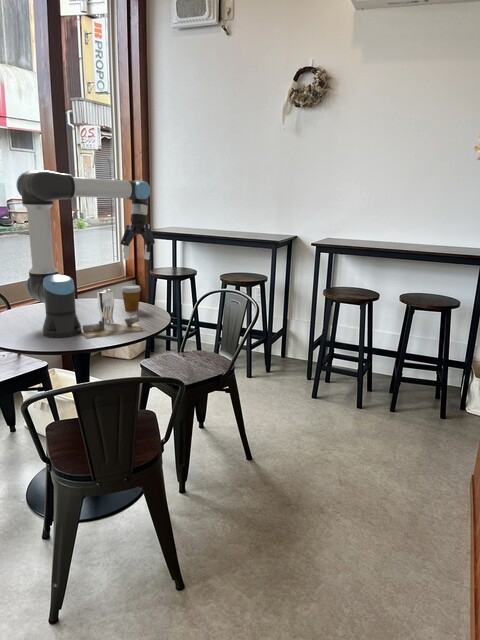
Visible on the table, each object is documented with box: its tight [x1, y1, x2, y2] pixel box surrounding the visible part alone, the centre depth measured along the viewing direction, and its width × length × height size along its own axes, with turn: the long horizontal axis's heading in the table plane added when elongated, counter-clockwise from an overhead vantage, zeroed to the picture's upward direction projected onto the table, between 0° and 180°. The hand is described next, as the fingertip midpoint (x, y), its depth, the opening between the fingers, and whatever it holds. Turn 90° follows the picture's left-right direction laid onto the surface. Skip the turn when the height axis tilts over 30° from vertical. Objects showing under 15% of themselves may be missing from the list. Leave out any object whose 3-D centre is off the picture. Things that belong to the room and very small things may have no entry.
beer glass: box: [97, 289, 115, 326], centre depth 212 cm, size 7×7×15 cm
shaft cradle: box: [80, 314, 144, 339], centre depth 204 cm, size 24×10×6 cm, turn 122°
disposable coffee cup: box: [120, 284, 142, 313], centre depth 236 cm, size 10×10×12 cm
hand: (136, 259), depth 228 cm, fingers open, 13 cm apart
